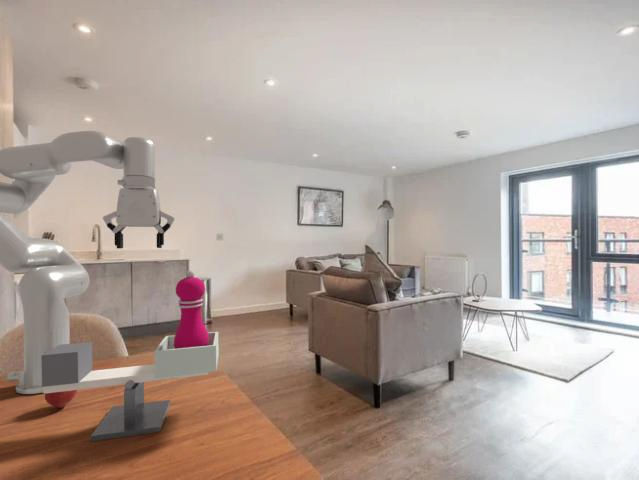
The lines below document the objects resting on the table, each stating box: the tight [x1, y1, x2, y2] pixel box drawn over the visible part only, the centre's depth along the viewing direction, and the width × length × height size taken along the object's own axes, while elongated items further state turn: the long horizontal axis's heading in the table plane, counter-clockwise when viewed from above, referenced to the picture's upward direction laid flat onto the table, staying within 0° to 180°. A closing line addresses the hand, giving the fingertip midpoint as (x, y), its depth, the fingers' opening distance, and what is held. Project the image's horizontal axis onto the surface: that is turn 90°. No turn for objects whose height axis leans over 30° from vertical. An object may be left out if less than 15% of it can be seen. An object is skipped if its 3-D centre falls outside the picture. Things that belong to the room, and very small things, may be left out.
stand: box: [90, 382, 171, 442], centre depth 71 cm, size 12×12×8 cm
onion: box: [44, 390, 78, 409], centre depth 77 cm, size 6×6×8 cm
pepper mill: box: [174, 269, 209, 349], centre depth 74 cm, size 7×7×20 cm
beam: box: [41, 331, 220, 395], centre depth 71 cm, size 32×12×8 cm, turn 105°
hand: (139, 248), depth 91 cm, fingers open, 9 cm apart
